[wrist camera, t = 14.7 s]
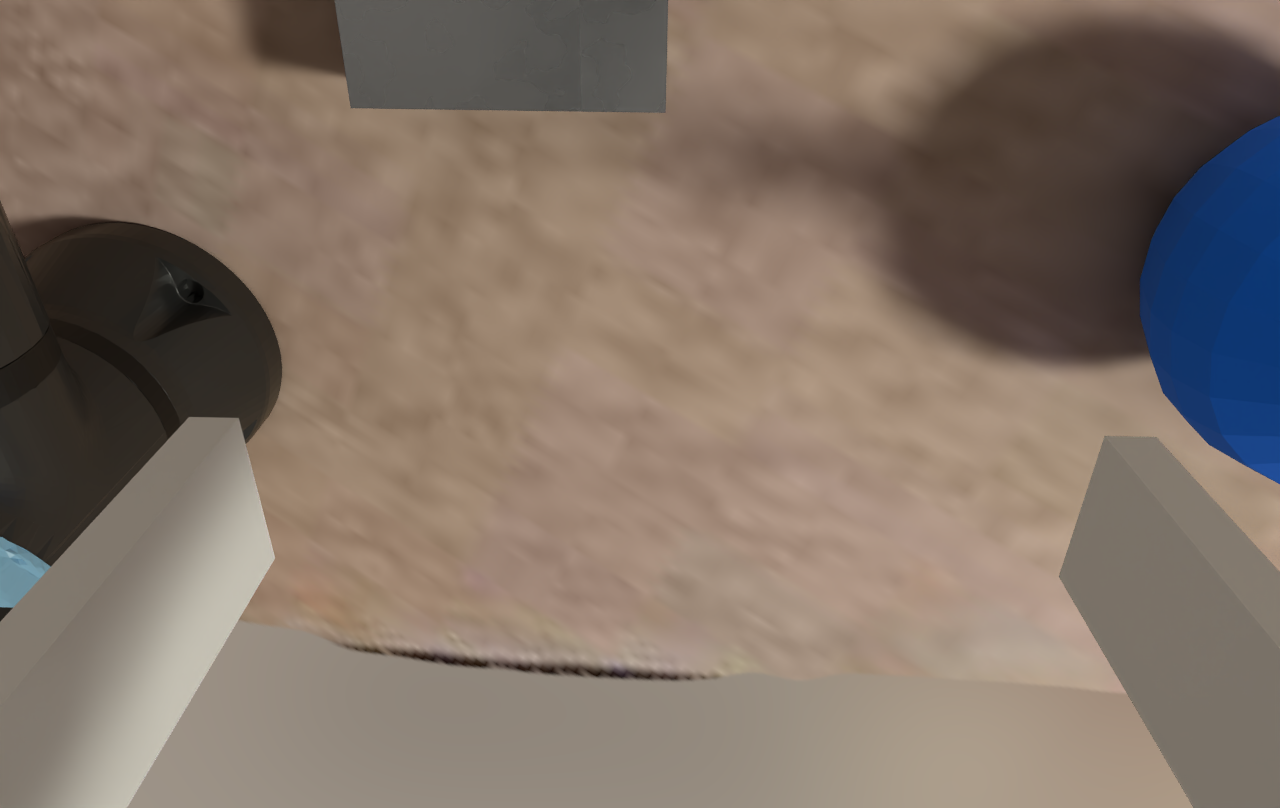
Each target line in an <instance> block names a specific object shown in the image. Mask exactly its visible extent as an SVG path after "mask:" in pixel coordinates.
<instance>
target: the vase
mask: <svg viewBox="0 0 1280 808" xmlns="http://www.w3.org/2000/svg"><path fill="white" fill-rule="evenodd" d="M1140 318H1141V322H1142V326H1143V330H1144V333H1145V337H1146V341H1147V345H1148V349H1149V353H1150V357H1151V359H1152V362H1153V365H1154V368H1155V371H1156V374H1157V377H1158V379H1159V382H1160V385H1161V388H1162V391H1163V393H1164V394H1165V396H1166V397H1167V398H1168V399H1169V400H1170V402H1171V403H1172V404H1173V405H1174V406H1175V407H1176V409H1177V410H1178V411H1179V412H1180V413H1181V415H1182V416H1183V417H1184V418H1185V419H1186V420H1187V422H1188V423H1189V424H1190V425H1191V426H1192V427H1193V428H1194V429H1195V430H1196V431H1197V432H1198V433H1199V435H1200V436H1201V437H1202V438H1203V439H1204V440H1205V441H1206V442H1207V443H1208V444H1209V445H1211V446H1212V447H1214V448H1216V449H1217V450H1219V451H1221V452H1223V453H1224V454H1226V455H1228V456H1230V457H1231V458H1233V459H1235V460H1236V461H1238V462H1240V463H1242V464H1243V465H1245V466H1247V467H1249V468H1251V469H1253V470H1254V471H1256V472H1258V473H1260V474H1262V475H1264V476H1266V477H1267V478H1269V479H1271V480H1273V481H1275V482H1277V483H1279V484H1280V116H1278V117H1276V118H1274V119H1272V120H1270V121H1268V122H1266V123H1264V124H1262V125H1260V126H1258V127H1256V128H1254V129H1252V130H1250V131H1248V132H1247V133H1246V134H1244V135H1243V136H1241V137H1240V138H1239V139H1237V140H1236V141H1235V142H1233V143H1232V144H1231V145H1229V146H1228V147H1227V148H1225V149H1224V150H1223V151H1221V152H1220V153H1219V154H1218V155H1216V156H1215V157H1214V158H1212V159H1211V160H1210V161H1208V162H1207V163H1206V164H1204V165H1203V166H1202V167H1200V169H1199V170H1198V171H1197V172H1196V173H1195V174H1194V175H1193V176H1192V178H1191V179H1190V180H1189V181H1188V182H1187V183H1186V184H1185V186H1184V187H1183V188H1182V189H1181V190H1180V191H1179V192H1178V193H1177V195H1176V196H1175V197H1174V198H1173V200H1172V202H1171V204H1170V205H1169V207H1168V209H1167V211H1166V212H1165V214H1164V216H1163V218H1162V219H1161V221H1160V223H1159V225H1158V226H1157V228H1156V230H1155V233H1154V235H1153V237H1152V240H1151V243H1150V247H1149V250H1148V253H1147V257H1146V260H1145V264H1144V267H1143V271H1142V274H1141V278H1140Z"/></svg>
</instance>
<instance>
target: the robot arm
mask: <svg viewBox="0 0 1280 808" xmlns="http://www.w3.org/2000/svg"><path fill="white" fill-rule="evenodd" d="M281 378H282V363H281V355H280V349H279V345H278V342H277V338H276V335H275V333H274V330H273V328H272V325H271V323H270V321H269V319H268V317H267V315H266V313H265V312H264V310H263V308H262V307H261V305H260V304H259V302H258V301H257V299H256V298H255V296H254V295H253V294H252V293H251V291H250V290H249V289H248V288H247V287H246V285H245V284H244V283H243V282H242V281H241V280H240V279H239V278H238V277H237V276H236V275H235V274H234V273H233V272H232V271H231V270H229V269H228V268H227V267H226V266H225V265H224V264H222V263H221V262H220V261H219V260H217V259H216V258H214V257H213V256H212V255H210V254H209V253H207V252H206V251H204V250H202V249H201V248H199V247H197V246H196V245H194V244H192V243H190V242H188V241H186V240H184V239H182V238H180V237H177V236H175V235H172V234H170V233H167V232H164V231H161V230H158V229H154V228H150V227H146V226H141V225H136V224H128V223H99V224H92V225H87V226H83V227H79V228H76V229H73V230H70V231H68V232H66V233H64V234H62V235H60V236H58V237H56V238H54V239H53V240H51V241H49V242H47V243H45V244H44V245H42V246H40V247H38V248H37V249H35V250H33V251H32V252H31V253H29V254H28V255H27V256H26V257H25V258H24V257H23V254H22V252H21V250H20V247H19V245H18V242H17V240H16V237H15V235H14V233H13V230H12V228H11V225H10V223H9V221H8V218H7V216H6V213H5V211H4V209H3V206H2V204H1V201H0V808H127V807H128V805H129V803H130V802H131V800H132V798H133V796H134V795H135V793H136V791H137V790H138V788H139V786H140V785H141V783H142V781H143V779H144V778H145V776H146V775H147V773H148V771H149V770H150V768H151V766H152V764H153V763H154V761H155V759H156V758H157V756H158V754H159V753H160V751H161V749H162V748H163V746H164V744H165V743H166V741H167V739H168V738H169V736H170V734H171V732H172V731H173V729H174V727H175V726H176V724H177V722H178V720H179V719H180V717H181V716H182V714H183V712H184V711H185V709H186V707H187V706H188V704H189V702H190V700H191V699H192V697H193V695H194V693H195V692H196V690H197V689H198V687H199V685H200V684H201V682H202V680H203V678H204V677H205V675H206V673H207V672H208V670H209V668H210V667H211V665H212V663H213V662H214V660H215V658H216V657H217V655H218V653H219V652H220V650H221V648H222V647H223V645H224V643H225V642H226V640H227V638H228V636H229V635H230V633H231V631H232V630H233V628H234V626H235V625H236V623H237V621H238V620H239V618H240V616H241V615H242V613H243V611H244V610H245V608H246V606H247V604H248V603H249V601H250V599H251V598H252V596H253V594H254V593H255V591H256V589H257V588H258V586H259V584H260V583H261V581H262V579H263V578H264V576H265V574H266V572H267V571H268V569H269V567H270V566H271V564H272V562H273V561H274V559H275V556H274V552H273V548H272V544H271V540H270V537H269V533H268V529H267V525H266V521H265V517H264V513H263V510H262V506H261V502H260V498H259V494H258V490H257V486H256V483H255V479H254V475H253V471H252V467H251V463H250V459H249V456H248V452H247V448H246V443H247V442H248V441H249V440H250V439H251V438H252V437H253V435H254V434H255V433H256V432H257V430H258V429H259V428H260V426H261V425H262V424H263V423H264V421H265V420H266V419H267V417H268V416H269V414H270V413H271V411H272V409H273V407H274V405H275V403H276V400H277V398H278V395H279V391H280V386H281ZM1059 577H1060V579H1061V581H1062V583H1063V584H1064V586H1065V588H1066V590H1067V591H1068V593H1069V595H1070V596H1071V598H1072V600H1073V602H1074V603H1075V605H1076V607H1077V608H1078V610H1079V612H1080V614H1081V615H1082V617H1083V619H1084V620H1085V622H1086V624H1087V626H1088V627H1089V629H1090V631H1091V632H1092V634H1093V636H1094V638H1095V639H1096V641H1097V643H1098V644H1099V646H1100V648H1101V650H1102V651H1103V653H1104V655H1105V656H1106V658H1107V660H1108V662H1109V663H1110V665H1111V667H1112V668H1113V670H1114V672H1115V674H1116V675H1117V677H1118V679H1119V680H1120V682H1121V684H1122V686H1123V687H1124V689H1125V691H1126V693H1127V694H1128V696H1129V698H1130V699H1131V701H1132V703H1133V705H1134V706H1135V708H1136V710H1137V711H1138V713H1139V715H1140V717H1141V718H1142V720H1143V722H1144V723H1145V725H1146V727H1147V729H1148V730H1149V732H1150V734H1151V735H1152V737H1153V739H1154V740H1155V742H1156V744H1157V746H1158V747H1159V749H1160V751H1161V753H1162V754H1163V756H1164V758H1165V759H1166V761H1167V763H1168V765H1169V766H1170V768H1171V770H1172V771H1173V773H1174V775H1175V777H1176V778H1177V780H1178V782H1179V783H1180V785H1181V787H1182V789H1183V790H1184V792H1185V794H1186V795H1187V797H1188V799H1189V801H1190V802H1191V804H1192V806H1193V808H1280V572H1279V571H1278V569H1277V568H1276V567H1275V566H1274V565H1273V564H1272V563H1271V562H1270V561H1269V560H1268V559H1267V557H1266V556H1265V555H1264V554H1263V553H1262V552H1261V551H1260V550H1259V549H1258V548H1257V547H1256V545H1255V544H1254V543H1253V542H1252V541H1251V540H1250V539H1249V538H1248V537H1247V536H1246V534H1245V533H1244V532H1243V531H1242V530H1241V529H1240V528H1239V527H1238V526H1237V525H1236V524H1235V522H1234V521H1233V520H1232V519H1231V518H1230V517H1229V516H1228V515H1227V514H1226V513H1225V512H1224V510H1223V509H1222V508H1221V507H1220V506H1219V505H1218V504H1217V503H1216V502H1215V501H1214V500H1213V498H1212V497H1211V496H1210V495H1209V494H1208V493H1207V492H1206V491H1205V490H1204V489H1203V488H1202V486H1201V485H1200V484H1199V483H1198V482H1197V481H1196V480H1195V479H1194V478H1193V477H1192V476H1191V474H1190V473H1189V472H1188V471H1187V470H1186V469H1185V468H1184V467H1183V466H1182V465H1181V463H1180V462H1179V461H1178V460H1177V459H1176V458H1175V457H1174V456H1173V455H1172V454H1171V453H1170V451H1169V450H1168V449H1167V448H1166V447H1165V446H1164V445H1163V444H1162V443H1161V442H1160V441H1159V439H1158V438H1157V437H1131V436H1105V437H1104V440H1103V443H1102V446H1101V449H1100V452H1099V455H1098V458H1097V461H1096V464H1095V468H1094V471H1093V474H1092V477H1091V480H1090V483H1089V486H1088V489H1087V492H1086V495H1085V498H1084V501H1083V504H1082V507H1081V510H1080V513H1079V517H1078V520H1077V523H1076V526H1075V529H1074V532H1073V535H1072V538H1071V541H1070V544H1069V547H1068V550H1067V553H1066V556H1065V559H1064V563H1063V566H1062V569H1061V572H1060V575H1059Z"/></svg>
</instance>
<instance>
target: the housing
mask: <svg viewBox="0 0 1280 808" xmlns="http://www.w3.org/2000/svg"><path fill="white" fill-rule="evenodd" d="M334 1H335V7H336V14H337V20H338V27H339V34H340V40H341V47H342V53H343V60H344V66H345V73H346V80H347V86H348V93H349V99H350V106H351V108H379V109H448V110H517V111H586V112H655V113H665V112H666V68H667V25H668V0H334Z"/></svg>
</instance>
